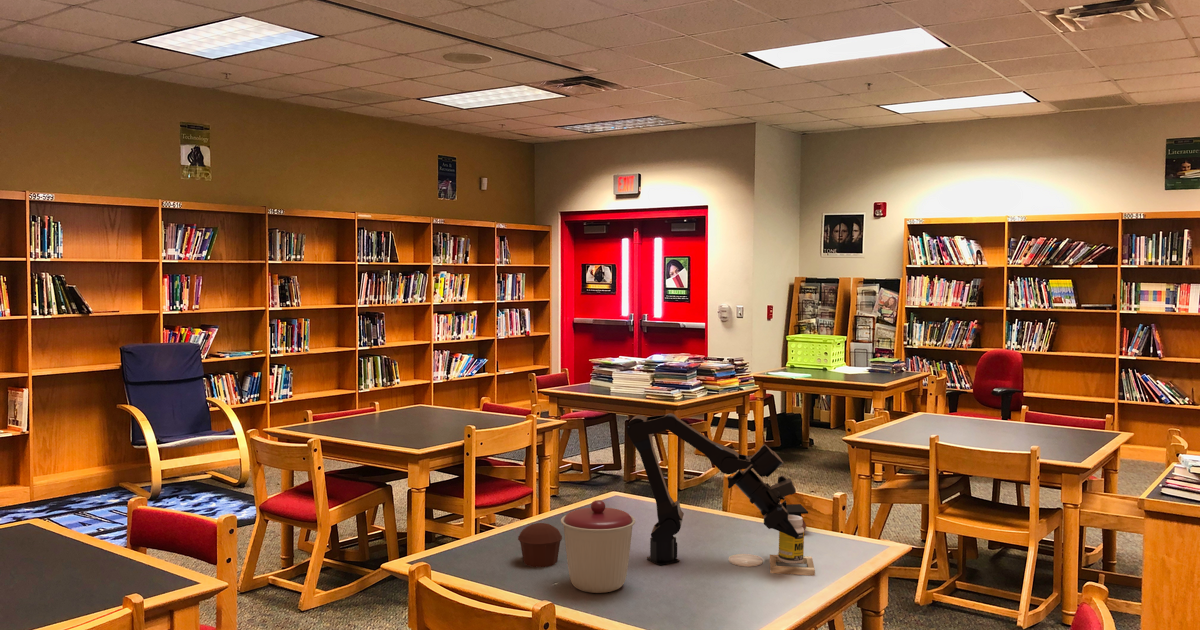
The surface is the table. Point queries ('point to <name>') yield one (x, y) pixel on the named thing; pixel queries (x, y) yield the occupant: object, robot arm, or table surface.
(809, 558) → the pocket frame
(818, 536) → the table surface
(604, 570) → the canister
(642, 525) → the table surface
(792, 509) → the figurine character
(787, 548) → the supplement bottle
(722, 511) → the table surface
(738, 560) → the coaster
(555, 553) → the muffin
